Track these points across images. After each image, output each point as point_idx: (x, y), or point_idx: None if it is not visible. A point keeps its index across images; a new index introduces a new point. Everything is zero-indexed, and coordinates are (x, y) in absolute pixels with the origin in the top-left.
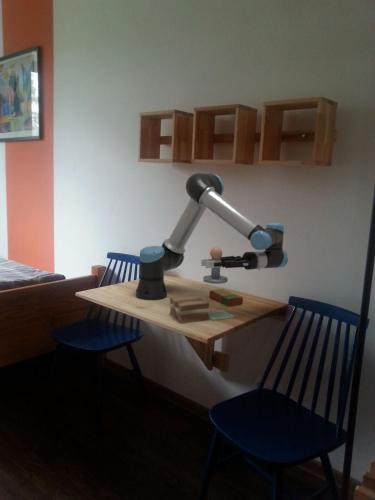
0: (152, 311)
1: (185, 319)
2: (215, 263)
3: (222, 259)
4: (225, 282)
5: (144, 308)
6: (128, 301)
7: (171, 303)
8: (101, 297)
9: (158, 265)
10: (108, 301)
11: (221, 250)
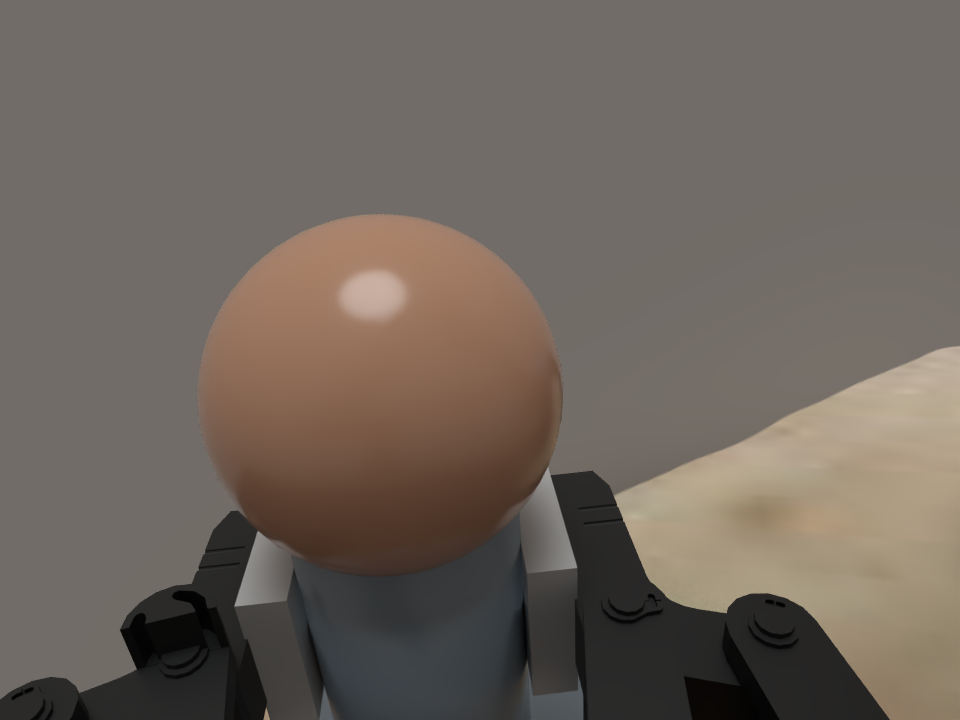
0: (673, 560)
1: None
2: (229, 520)
3: (165, 591)
4: None
5: (739, 528)
6: (884, 471)
7: None
8: (924, 385)
9: None
10: (852, 405)
11: (248, 379)
